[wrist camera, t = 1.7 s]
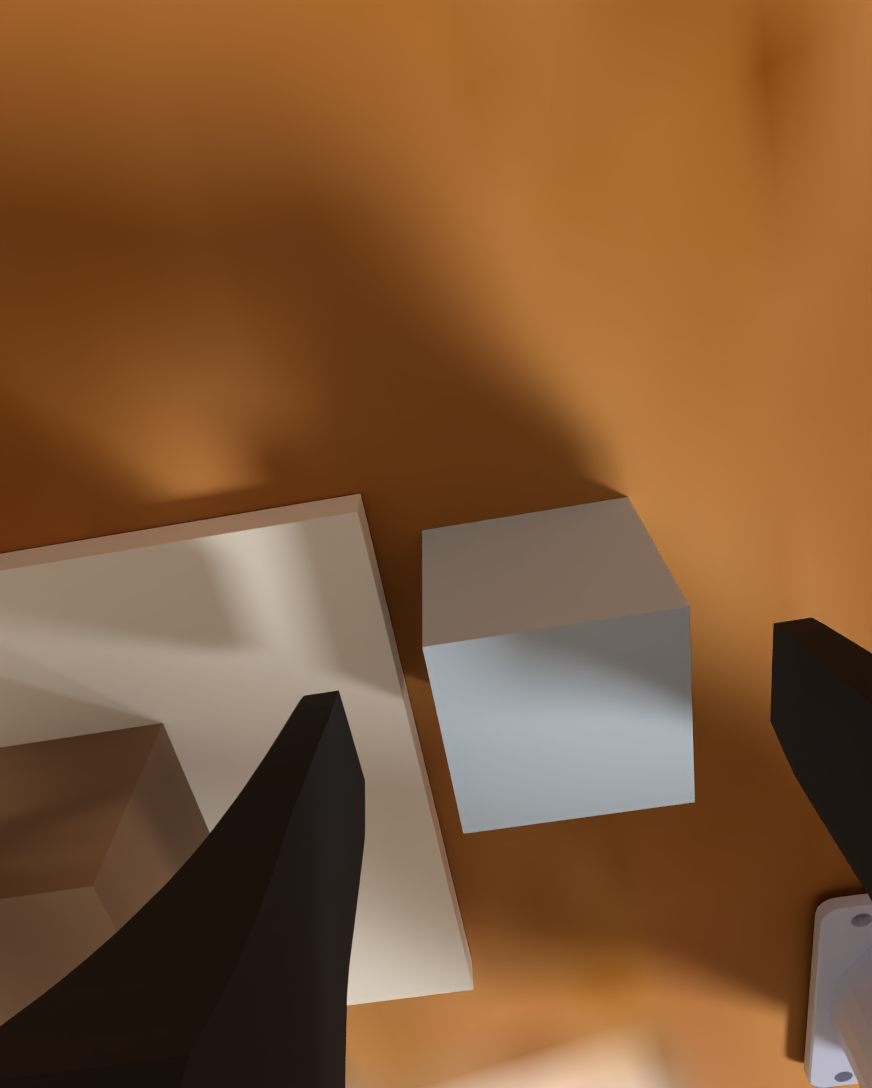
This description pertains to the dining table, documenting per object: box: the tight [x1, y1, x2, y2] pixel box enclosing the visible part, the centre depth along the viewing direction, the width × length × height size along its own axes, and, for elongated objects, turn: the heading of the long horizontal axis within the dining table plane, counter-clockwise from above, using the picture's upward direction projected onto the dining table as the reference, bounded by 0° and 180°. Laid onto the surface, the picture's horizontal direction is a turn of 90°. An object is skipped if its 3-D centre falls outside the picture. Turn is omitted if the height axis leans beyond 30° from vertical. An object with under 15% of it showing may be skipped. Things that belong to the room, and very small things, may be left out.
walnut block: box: [0, 723, 210, 1026], centre depth 16 cm, size 4×4×4 cm
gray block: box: [422, 497, 695, 834], centre depth 15 cm, size 4×4×4 cm
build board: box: [0, 494, 473, 1005], centre depth 18 cm, size 12×14×1 cm
